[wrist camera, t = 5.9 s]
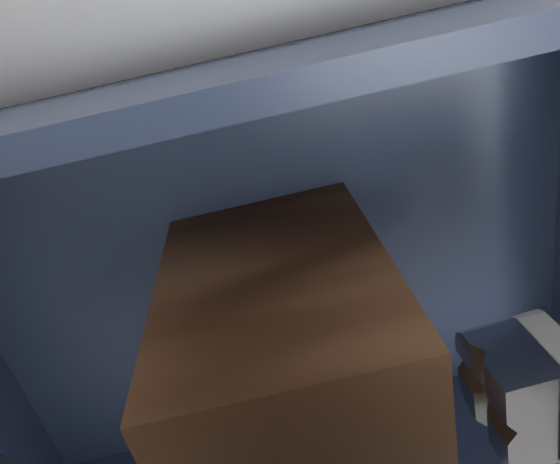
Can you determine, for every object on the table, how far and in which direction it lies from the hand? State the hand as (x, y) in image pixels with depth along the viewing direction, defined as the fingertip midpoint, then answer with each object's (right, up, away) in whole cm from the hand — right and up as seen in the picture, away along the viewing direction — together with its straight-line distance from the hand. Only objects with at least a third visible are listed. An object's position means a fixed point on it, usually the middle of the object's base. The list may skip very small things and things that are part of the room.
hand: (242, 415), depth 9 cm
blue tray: (+1, +2, +4) cm, 4 cm away
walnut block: (+1, +2, +3) cm, 4 cm away
